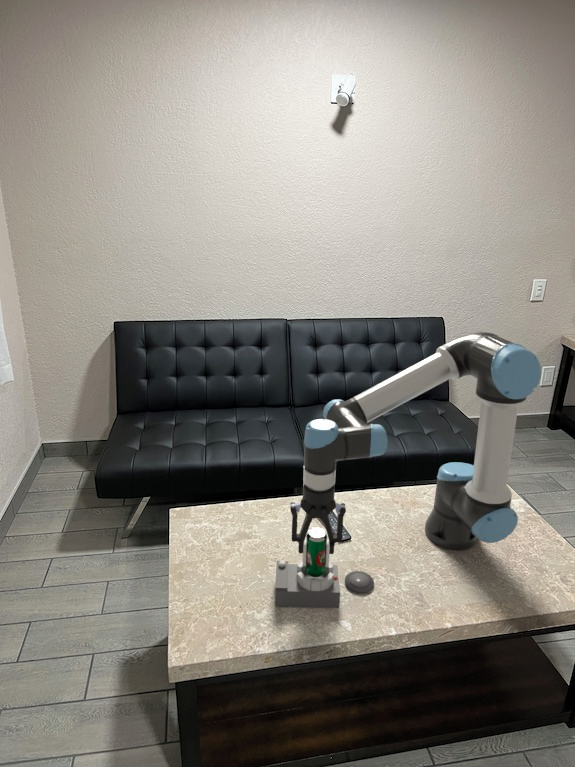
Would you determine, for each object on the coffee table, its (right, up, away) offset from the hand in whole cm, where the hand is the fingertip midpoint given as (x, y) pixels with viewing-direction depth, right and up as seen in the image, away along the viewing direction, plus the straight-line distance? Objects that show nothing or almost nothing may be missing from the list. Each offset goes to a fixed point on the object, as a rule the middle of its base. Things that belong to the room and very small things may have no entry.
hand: (315, 562), depth 135 cm
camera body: (-2, -9, +4) cm, 10 cm away
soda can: (0, -3, +1) cm, 3 cm away
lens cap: (+12, -8, +7) cm, 16 cm away
